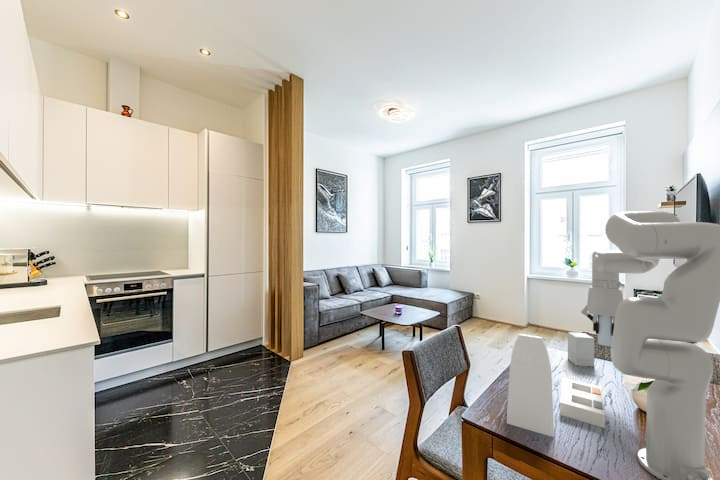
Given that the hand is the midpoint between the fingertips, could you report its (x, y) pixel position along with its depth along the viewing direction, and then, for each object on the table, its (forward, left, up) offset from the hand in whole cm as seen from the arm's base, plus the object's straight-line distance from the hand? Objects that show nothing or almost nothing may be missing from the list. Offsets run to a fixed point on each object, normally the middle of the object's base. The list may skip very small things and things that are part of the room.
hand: (604, 333), depth 106 cm
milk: (-17, +37, -21) cm, 46 cm away
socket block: (-10, +15, -21) cm, 28 cm away
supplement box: (+23, -9, -21) cm, 33 cm away
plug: (0, 0, -4) cm, 4 cm away
